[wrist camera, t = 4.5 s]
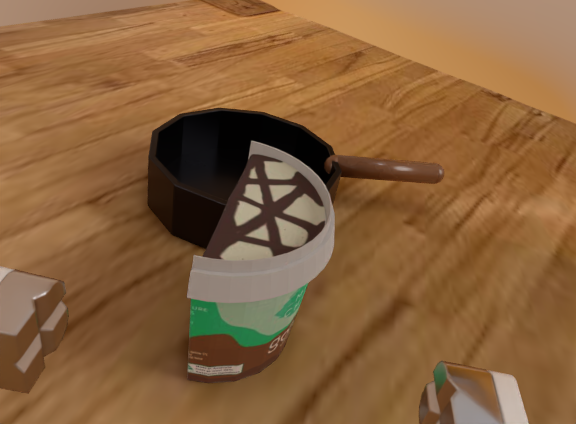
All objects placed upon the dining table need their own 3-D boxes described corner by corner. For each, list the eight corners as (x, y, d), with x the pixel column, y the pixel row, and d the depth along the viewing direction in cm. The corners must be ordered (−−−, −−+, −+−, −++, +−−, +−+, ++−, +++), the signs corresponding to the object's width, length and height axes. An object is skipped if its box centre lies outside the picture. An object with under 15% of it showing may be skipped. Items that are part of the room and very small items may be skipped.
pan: (141, 251, 37) (141, 197, 34) (156, 145, 48) (157, 99, 46) (461, 264, 42) (483, 218, 39) (403, 165, 54) (417, 125, 51)
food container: (289, 431, 27) (331, 298, 22) (178, 402, 28) (189, 263, 22) (317, 277, 37) (350, 159, 32) (235, 257, 38) (253, 136, 32)
